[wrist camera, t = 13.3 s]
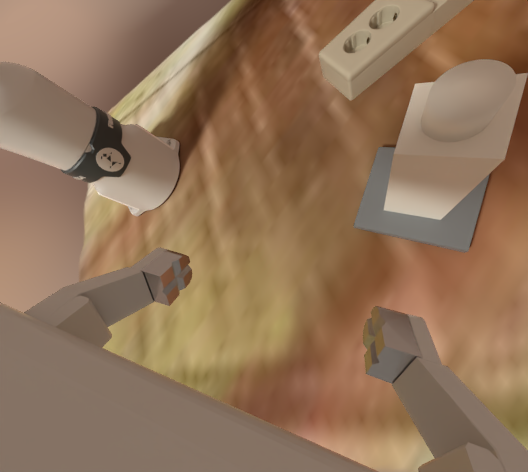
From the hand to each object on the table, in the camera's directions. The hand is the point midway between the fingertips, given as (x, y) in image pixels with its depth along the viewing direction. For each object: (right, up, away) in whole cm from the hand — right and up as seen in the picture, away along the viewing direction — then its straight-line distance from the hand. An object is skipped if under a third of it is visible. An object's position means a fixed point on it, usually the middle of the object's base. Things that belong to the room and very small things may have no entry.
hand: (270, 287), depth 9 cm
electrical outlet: (+18, +29, +19) cm, 38 cm away
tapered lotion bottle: (+16, +7, +13) cm, 21 cm away
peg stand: (+16, +7, +13) cm, 22 cm away
